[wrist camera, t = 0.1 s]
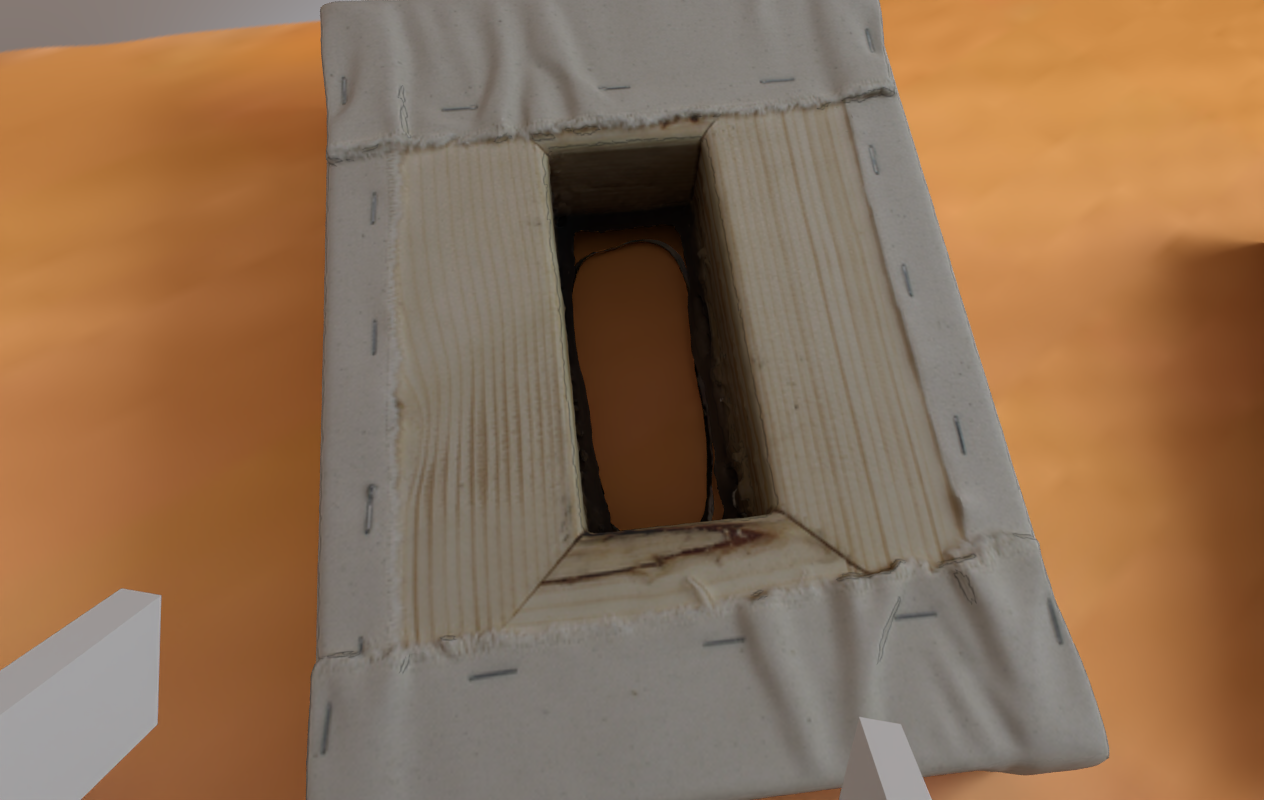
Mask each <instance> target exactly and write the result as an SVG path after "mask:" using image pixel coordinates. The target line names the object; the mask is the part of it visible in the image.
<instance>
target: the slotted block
mask: <svg viewBox="0 0 1264 800" xmlns="http://www.w3.org/2000/svg"><path fill="white" fill-rule="evenodd" d="M320 17H321V55H322V67H323V76H324V86H325V94H326V105H327V148H326V160H327V177H326V179H327V183H326V234H325V278H324V280H325V281H324V334H323V369H322V415H321V456H320V505H319V547H318V582H317V635H316V641H317V646H316V664H315V665H314V667H313V670H312V674H311V689H310V708H309V722H308V743H307V760H306V766H307V770H306V800H753V799H760V798H767V797H774V796H782V795H790V794H799V793H805V792H812V791H820V790H827V789H835V788H842V785H843V781H844V777H845V773H846V769H847V764H848V760H849V756H850V752H851V748H852V744H853V740H854V736H855V732H856V728H857V724H858V719H859V717H863V718H869V719H875V720H880V721H886V722H892V723H898V724H901V726H902V728H903V731H904V733H905V735H906V738H907V740H908V743H909V745H910V748H911V750H912V753H913V755H914V757H915V760H916V762H917V765H918V767H919V770H920V772H921V774H922V777H929V776H936V775H944V774H952V773H962V772H970V771H977V770H978V771H990V772H1003V773H1010V774H1017V775H1035V774H1043V773H1051V772H1060V771H1070V770H1077V769H1083V768H1088V767H1092V766H1096V765H1098V764H1100V763H1102V762H1103V761H1105V760H1106V759H1108V758H1109V745H1108V740H1107V736H1106V732H1105V728H1104V725H1103V721H1102V718H1101V715H1100V712H1099V709H1098V706H1097V702H1096V699H1095V697H1094V694H1093V691H1092V688H1091V685H1090V682H1089V679H1088V676H1087V674H1086V671H1085V669H1084V666H1083V663H1082V661H1081V658H1080V656H1079V653H1078V651H1077V649H1076V647H1075V645H1074V643H1073V641H1072V638H1071V635H1070V633H1069V630H1068V628H1067V626H1066V623H1065V621H1064V619H1063V617H1062V614H1061V612H1060V610H1059V608H1058V606H1057V603H1056V600H1055V598H1054V594H1053V591H1052V588H1051V584H1050V581H1049V578H1048V575H1047V573H1046V569H1045V566H1044V563H1043V559H1042V556H1041V551H1040V545H1039V542H1038V541H1037V539H1036V538H1035V535H1034V532H1033V528H1032V525H1031V522H1030V518H1029V515H1028V512H1027V509H1026V506H1025V502H1024V499H1023V496H1022V493H1021V490H1020V486H1019V483H1018V480H1017V477H1016V474H1015V471H1014V468H1013V465H1012V461H1011V458H1010V454H1009V451H1008V447H1007V444H1006V441H1005V438H1004V434H1003V431H1002V428H1001V425H1000V422H999V418H998V415H997V412H996V408H995V405H994V402H993V399H992V396H991V393H990V389H989V386H988V383H987V379H986V376H985V373H984V370H983V367H982V364H981V360H980V357H979V354H978V351H977V347H976V344H975V341H974V337H973V334H972V331H971V327H970V324H969V321H968V318H967V314H966V311H965V308H964V305H963V302H962V298H961V296H960V293H959V289H958V286H957V282H956V279H955V276H954V272H953V269H952V266H951V262H950V259H949V255H948V252H947V249H946V246H945V243H944V239H943V236H942V233H941V230H940V227H939V223H938V220H937V217H936V214H935V210H934V206H933V203H932V200H931V197H930V194H929V191H928V187H927V184H926V181H925V178H924V174H923V171H922V168H921V165H920V161H919V158H918V155H917V152H916V148H915V145H914V142H913V139H912V136H911V132H910V129H909V126H908V122H907V119H906V116H905V113H904V110H903V106H902V103H901V100H900V97H899V93H898V90H897V87H896V83H895V80H894V76H893V73H892V69H891V66H890V63H889V59H888V56H887V53H886V49H885V46H884V35H883V21H882V13H881V8H880V3H879V0H367V1H366V0H365V1H338V2H331V3H328V4H325V5H323V6H322V7H321V9H320ZM659 224H666V225H673V226H674V227H675V229H676V230H677V232H678V233H679V234H680V237H681V242H682V246H683V251H684V257H685V261H686V266H687V269H686V267H685V263H684V261H683V259H682V258H681V256H680V255H679V254H678V253H677V252H676V251H675V250H674V249H673V248H672V247H671V246H669V245H668V244H666V243H664V242H662V241H659V240H653V239H641V240H632V241H628V242H626V243H624V244H622V245H620V246H617V247H614V248H610V249H606V250H604V251H610V250H614V249H617V248H619V247H621V246H623V245H625V244H629V243H633V242H650V243H654V244H657V245H659V246H662V247H663V248H665V249H666V250H668V251H669V252H670V254H671V255H672V256H673V257H674V258H675V260H676V261H677V263H678V265H679V267H680V270H681V272H682V274H683V277H684V280H685V282H686V285H687V291H688V314H689V324H690V333H691V348H692V354H693V358H694V364H695V372H696V377H697V382H698V389H699V394H700V398H701V403H702V407H703V413H704V421H705V431H706V440H707V500H706V507H705V512H704V515H703V517H702V519H701V522H697V523H690V524H687V523H686V524H679V525H672V526H657V527H650V528H643V529H634V530H625V531H620V530H619V529H618V528H616V527H615V526H614V525H613V524H611V522H610V513H609V511H608V505H607V503H606V501H605V498H604V491H603V488H602V485H601V481H600V477H599V467H598V464H597V461H596V457H595V453H594V448H593V443H592V429H591V421H590V411H589V406H588V401H587V395H586V389H585V384H584V380H583V376H582V373H581V370H580V366H579V361H578V356H577V350H576V343H575V332H574V322H573V303H572V292H573V286H574V282H575V278H576V274H577V272H578V270H579V267H580V266H581V264H582V263H583V261H584V260H585V259H587V258H588V257H589V256H591V255H593V254H596V253H599V252H593V253H591V254H589V255H588V256H586V257H584V258H583V259H581V260H580V261H579V262H578V263H577V264H576V265H575V257H574V236H575V233H576V232H579V231H581V230H582V231H589V232H594V231H598V232H600V233H603V232H605V231H610V230H623V229H633V228H635V227H642V226H644V227H651V226H654V225H656V226H657V225H659ZM604 251H600V252H604ZM687 270H688V271H687ZM712 443H713V446H714V450H715V464H714V474H715V477H716V480H717V485H718V487H717V489H718V490H719V495H720V498H721V500H722V504H723V506H724V515H723V518H722V520H715V521H711V520H712V517H713V512H714V499H713V491H712V467H713V451H712Z"/></svg>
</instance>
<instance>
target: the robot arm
mask: <svg viewBox="0 0 1264 800" xmlns="http://www.w3.org/2000/svg"><path fill="white" fill-rule="evenodd" d="M160 622H161V595H157V594H151V593H145V592H140V591H134V590H128V589H122V588H121V589H120V590H118V591H117V592H115V593H114V594H112V595H111V596H109V597H108V598H107V599H105V600H104V601H102V602H101V603H99V604H98V605H96V606H95V607H93V608H92V609H90V610H89V611H87V612H86V613H84V614H83V615H81V616H80V617H79V618H77V619H76V620H74V621H73V622H71V623H70V624H68V625H67V626H65V627H64V628H62V629H61V630H59V631H58V632H56V633H55V634H54V635H52V636H51V637H49V638H48V639H46V640H45V641H43V642H42V643H40V644H39V645H37V646H36V647H34V648H33V649H31V650H30V651H28V652H27V653H26V654H24V655H23V656H21V657H20V658H18V659H17V660H15V661H14V662H12V663H11V664H9V665H8V666H6V667H5V668H3V669H2V670H1V671H0V800H81V799H82V798H83V797H84V796H85V795H86V794H87V793H88V792H89V791H90V790H91V789H92V788H93V787H94V786H95V785H96V784H97V783H98V782H99V781H100V780H101V779H102V778H103V777H104V776H105V775H106V774H107V773H108V772H109V771H110V770H111V769H112V768H114V767H115V766H116V765H117V764H118V763H119V762H120V761H121V760H122V759H123V758H124V757H125V756H126V755H127V754H128V753H129V752H130V751H131V750H132V749H133V748H134V747H135V746H136V745H137V744H138V743H139V742H140V741H141V740H142V739H143V738H144V737H145V736H146V735H147V734H148V733H149V732H150V731H151V730H152V729H153V728H154V727H155V726H156V725H157V724H158V692H159V657H160ZM839 800H932V799H931V796H930V794H929V792H928V789H927V787H926V784H925V782H924V779H923V777H922V774H921V772H920V770H919V767H918V765H917V762H916V760H915V757H914V755H913V753H912V750H911V748H910V745H909V743H908V740H907V738H906V735H905V733H904V731H903V728H902V726H901V724H898V723H892V722H886V721H880V720H875V719H869V718H863V717H859V719H858V724H857V728H856V732H855V736H854V740H853V744H852V748H851V752H850V756H849V760H848V764H847V769H846V773H845V777H844V781H843V785H842V789H841V793H840V797H839Z"/></svg>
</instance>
